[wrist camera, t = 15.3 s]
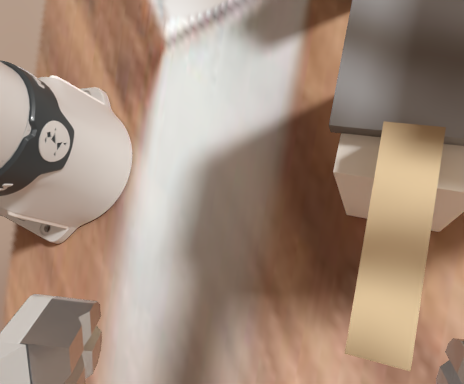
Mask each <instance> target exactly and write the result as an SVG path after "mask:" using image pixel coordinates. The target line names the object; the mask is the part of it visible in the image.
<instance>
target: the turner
mask: <svg viewBox="0 0 464 384" xmlns="http://www.w3.org/2000/svg"><path fill="white" fill-rule="evenodd" d="M329 127H330V131H331V132H335V133H345V134H354V135H364V136H373V137H381V140H380V146H379V152H378V158H377V164H376V170H375V176H374V182H373V188H372V194H371V200H370V206H369V212H368V218H367V224H366V230H365V236H364V242H363V248H362V253H361V259H360V265H359V271H358V277H357V283H356V289H355V295H354V301H353V307H352V313H351V319H350V325H349V331H348V337H347V343H346V349H345V354H348V355H352V356H356V357H359V358H363V359H367V360H370V361H374V362H378V363H381V364H385V365H389V366H392V367H396V368H400V369H404V370H407V371H411V365H412V358H413V351H414V344H415V337H416V330H417V323H418V316H419V309H420V302H421V296H422V289H423V282H424V275H425V268H426V261H427V254H428V247H429V240H430V233H431V226H432V220H433V213H434V206H435V199H436V192H437V185H438V178H439V171H440V164H441V157H442V150H443V144H449V145H459V146H464V0H352V5H351V10H350V15H349V21H348V26H347V31H346V37H345V42H344V47H343V53H342V58H341V63H340V69H339V74H338V79H337V85H336V90H335V95H334V100H333V106H332V111H331V116H330V122H329Z"/></svg>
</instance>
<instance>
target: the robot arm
mask: <svg viewBox="0 0 464 384" xmlns="http://www.w3.org/2000/svg"><path fill="white" fill-rule="evenodd" d="M131 165H132V146H131V141H130V138H129V135H128V132H127V130H126V128H125V126H124V125H123V123H122V122H121V121H120V120H119V119H118V118H117V116H116V115H115V114H114V113H113V111H112V110H111V106H110V103H109V99H108V96H107V94H106V93H105V92H104V91H103V90H101V89H99V88H96V87H93V88H84V89H79V88H77V87H75V86H73V85H72V84H70V83H68V82H66V81H65V80H63V79H61V78H59V77H57V76H54V75H51V76H50V77H41V78H37V77H36V76H34V75H33V74H31V73H30V72H28V71H26V70H24V69H23V68H20V67H18V66H15V65H13V64H11V63H9V62H5V61H0V216H4V217H6V218H7V219H9V220H11V221H13V222H15V223H16V224H18V225H20V226H22V227H24V228H25V229H27V230H29V231H31V232H33V233H34V234H36V235H38V236H40V237H42V238H44V239H45V240H47V241H49V242H52V243H55V244H59V243H62V242H63V241H65V240H66V239H67V238H68V237H69V236H70V235H71V234H72V233H73V232H74V231H75V230H76V229H77V228H78V227H80V226H81V225H83V224H85V223H88V222H90V221H92V220H94V219H96V218H97V217H99V216H101V215H102V214H103V213H105V212H106V211H107V210H108V209H109V208H110V207H111V206H112V205H113V204H114V203H115V201H116V200H117V199H118V197H119V196H120V194H121V193H122V191H123V189H124V187H125V185H126V183H127V180H128V177H129V174H130V170H131ZM49 226H50V230H49V231H48V228H49ZM100 317H101V311H100V304H99V303H98V302H97V301H90V300H82V299H74V298H66V297H58V296H56V297H54V296H48V295H39V294H34V295H32V296H30V297H29V298H28V299H27V300H26V301H25V303H24V304H23V305H22V306H21V308H20V309H19V310H18V311H17V313H16V314H15V315H14V316H13V318H12V319H11V320H10V321H9V322H8V324H7V325H6V326H5V327H4V329H3V330H2V331H1V332H0V384H86V383H85V379H86V378H87V377H89V376H90V375H92V374H93V372H94V370H95V368H96V365H97V363H98V359H99V355H100V351H101V343H102V332H101V330H100V329H99V328H98V327H97V326H96V325H97V323H98V321H99V319H100ZM445 352H446V354H447V356H448V358H449V361H447V362H446V363H445V364H443V365H442V366H441V367H440V368H439V372H438V375H437V378H436V382H437V384H464V339H454V338H453V339H452V340H451V341H450V342H449V343H448V346H447V349H446V351H445Z"/></svg>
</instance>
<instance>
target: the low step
mask: <svg viewBox="0 0 464 384" xmlns="http://www.w3.org/2000/svg"><path fill="white" fill-rule="evenodd" d="M380 140H381V137H373V136H364V135H354V134H345V133H341V136H340V141H339V146H338V150H337V155H336V160H335V165H334V170H333V173H334V176H335V180H336V183H337V186H338V189H339V192H340V196H341V199H342V202H343V205H344V208H345V211H346V215H350V216H355V217H361V218H366V219H367V218H368V212H369V206H370V200H371V194H372V188H373V182H374V176H375V170H376V164H377V158H378V152H379V146H380ZM463 212H464V146H459V145H449V144H443V150H442V157H441V164H440V171H439V178H438V185H437V192H436V199H435V206H434V213H433V220H432V226H431V231H436V232H440V231H441V230H442V229H444V228H445V227H446V226H447V225H448V224H450V223H451V222H452V221H453V220H455V219H456V218H457V217H458V216H459V215H461V214H462V213H463Z"/></svg>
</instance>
